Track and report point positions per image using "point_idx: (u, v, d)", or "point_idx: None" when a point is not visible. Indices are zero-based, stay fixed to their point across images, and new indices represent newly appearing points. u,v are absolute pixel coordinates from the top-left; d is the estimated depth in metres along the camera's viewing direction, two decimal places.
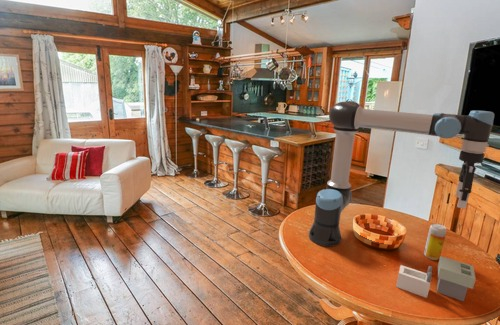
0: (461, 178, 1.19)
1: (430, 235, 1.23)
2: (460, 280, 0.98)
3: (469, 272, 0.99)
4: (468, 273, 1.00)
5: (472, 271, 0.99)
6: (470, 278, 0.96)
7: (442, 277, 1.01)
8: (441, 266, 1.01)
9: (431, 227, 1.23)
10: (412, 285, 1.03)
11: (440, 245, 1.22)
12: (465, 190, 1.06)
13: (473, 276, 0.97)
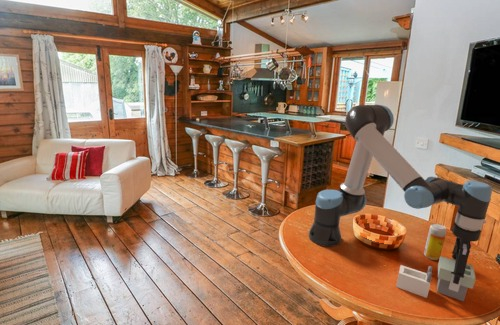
0: (455, 254, 1.05)
1: (430, 235, 1.23)
2: None
3: (469, 272, 0.99)
4: (468, 273, 1.00)
5: (472, 271, 0.99)
6: (470, 278, 0.96)
7: (442, 277, 1.01)
8: (441, 266, 1.01)
9: (431, 227, 1.23)
10: (412, 285, 1.03)
11: (440, 245, 1.22)
12: (457, 274, 0.95)
13: (473, 276, 0.97)
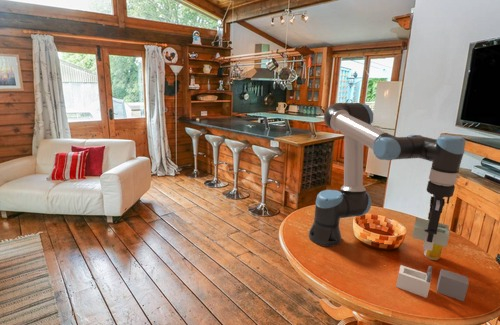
0: (430, 215, 1.02)
1: None
2: None
3: (444, 231, 0.96)
4: (443, 232, 0.97)
5: (447, 230, 0.96)
6: (444, 235, 0.93)
7: (416, 236, 0.98)
8: (415, 225, 0.98)
9: None
10: (412, 285, 1.03)
11: (440, 245, 1.22)
12: (430, 231, 0.92)
13: (447, 234, 0.94)
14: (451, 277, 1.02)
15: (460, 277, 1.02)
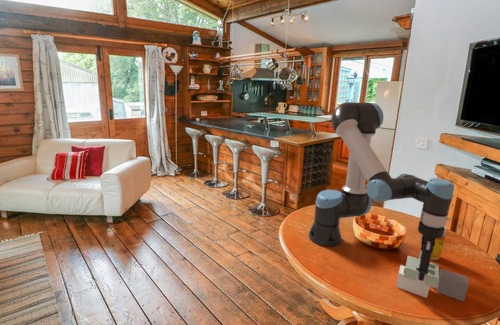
0: None
1: None
2: None
3: (434, 271, 1.01)
4: (433, 272, 1.01)
5: (436, 270, 1.01)
6: (433, 277, 0.97)
7: (407, 276, 1.02)
8: (407, 265, 1.03)
9: None
10: (412, 285, 1.03)
11: (440, 245, 1.22)
12: (421, 270, 0.94)
13: (436, 275, 0.98)
14: (451, 277, 1.02)
15: (460, 277, 1.02)
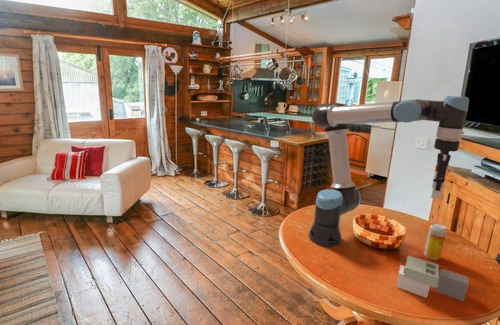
0: (438, 168, 1.14)
1: (430, 235, 1.23)
2: (424, 279, 0.99)
3: (434, 271, 1.01)
4: (433, 272, 1.01)
5: (436, 270, 1.01)
6: (433, 277, 0.97)
7: (407, 276, 1.02)
8: (407, 265, 1.03)
9: (431, 227, 1.23)
10: (412, 285, 1.03)
11: (440, 245, 1.22)
12: (438, 179, 1.01)
13: (436, 275, 0.98)
14: (451, 277, 1.02)
15: (460, 277, 1.02)
